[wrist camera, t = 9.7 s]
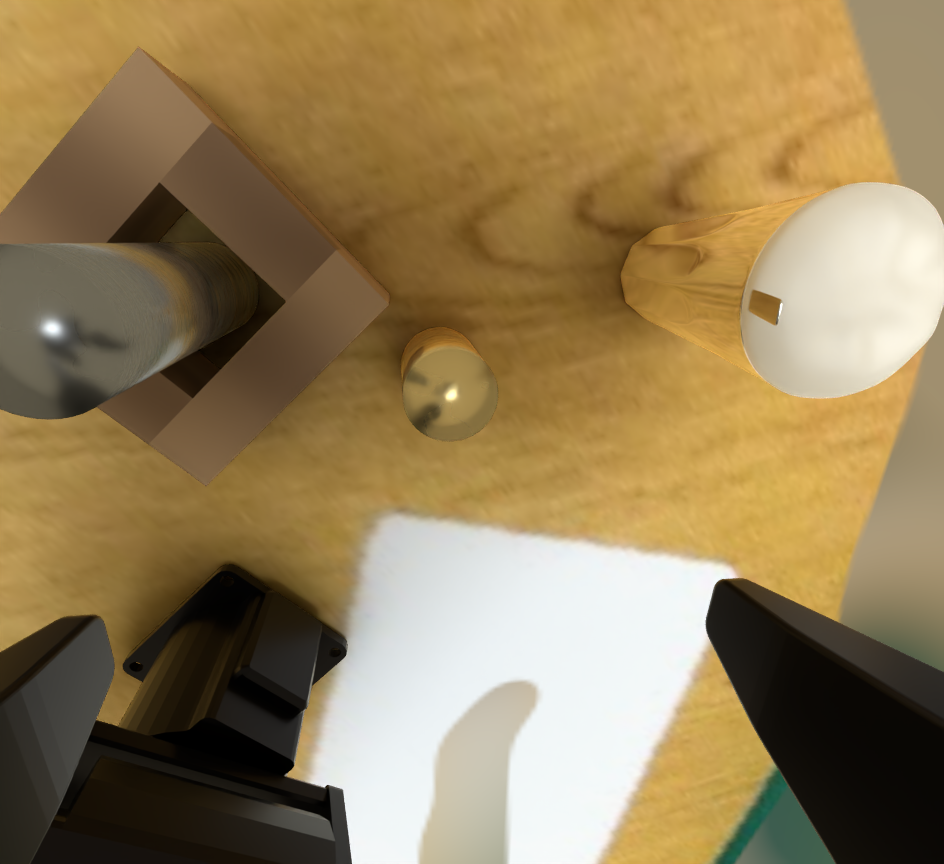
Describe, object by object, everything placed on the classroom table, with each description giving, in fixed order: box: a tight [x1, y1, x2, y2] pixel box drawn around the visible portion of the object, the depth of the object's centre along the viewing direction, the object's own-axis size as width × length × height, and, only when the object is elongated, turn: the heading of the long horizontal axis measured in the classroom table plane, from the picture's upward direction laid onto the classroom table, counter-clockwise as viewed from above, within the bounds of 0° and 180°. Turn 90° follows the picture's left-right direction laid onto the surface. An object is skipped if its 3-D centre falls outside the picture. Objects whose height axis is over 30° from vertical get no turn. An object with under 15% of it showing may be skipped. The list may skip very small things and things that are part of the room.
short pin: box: [401, 327, 498, 441], centre depth 17 cm, size 3×3×4 cm
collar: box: [0, 47, 390, 486], centre depth 15 cm, size 8×8×3 cm
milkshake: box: [620, 182, 944, 398], centre depth 14 cm, size 4×5×10 cm
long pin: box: [0, 242, 259, 419], centre depth 12 cm, size 3×3×9 cm
